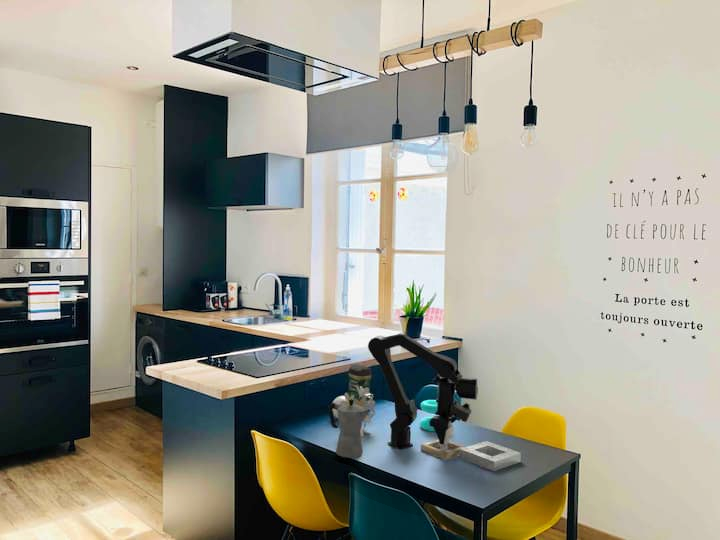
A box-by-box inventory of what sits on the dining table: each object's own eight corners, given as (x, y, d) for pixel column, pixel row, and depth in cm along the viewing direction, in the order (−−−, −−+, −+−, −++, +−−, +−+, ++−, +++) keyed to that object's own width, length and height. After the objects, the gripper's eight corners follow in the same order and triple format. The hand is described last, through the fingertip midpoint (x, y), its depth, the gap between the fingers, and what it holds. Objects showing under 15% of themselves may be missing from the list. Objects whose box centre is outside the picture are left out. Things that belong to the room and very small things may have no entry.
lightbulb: (452, 455, 197) (454, 423, 196) (433, 453, 198) (435, 421, 198) (453, 449, 203) (454, 417, 203) (435, 447, 204) (436, 416, 204)
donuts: (418, 404, 222) (422, 398, 232) (417, 430, 223) (421, 423, 232) (445, 407, 220) (448, 400, 229) (444, 433, 220) (446, 425, 230)
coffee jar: (343, 407, 249) (345, 364, 249) (357, 404, 255) (359, 362, 254) (359, 413, 242) (360, 368, 242) (373, 410, 248) (374, 366, 247)
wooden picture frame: (445, 459, 193) (445, 453, 193) (420, 450, 201) (420, 444, 201) (466, 453, 200) (467, 447, 200) (442, 443, 208) (442, 438, 208)
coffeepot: (373, 452, 197) (375, 399, 196) (360, 461, 188) (362, 405, 188) (333, 443, 204) (335, 392, 203) (319, 451, 196) (321, 398, 195)
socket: (494, 471, 185) (494, 461, 184) (459, 457, 195) (459, 448, 195) (520, 461, 194) (520, 452, 193) (486, 449, 204) (486, 441, 204)
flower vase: (331, 436, 232) (354, 440, 210) (321, 390, 235) (342, 389, 212) (361, 427, 238) (386, 430, 215) (350, 382, 240) (374, 380, 217)
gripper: (464, 405, 188) (461, 454, 189) (475, 393, 205) (473, 437, 206) (430, 401, 192) (428, 448, 193) (443, 389, 210) (441, 432, 210)
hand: (444, 441), depth 200 cm, fingers closed on lightbulb, 6 cm apart
